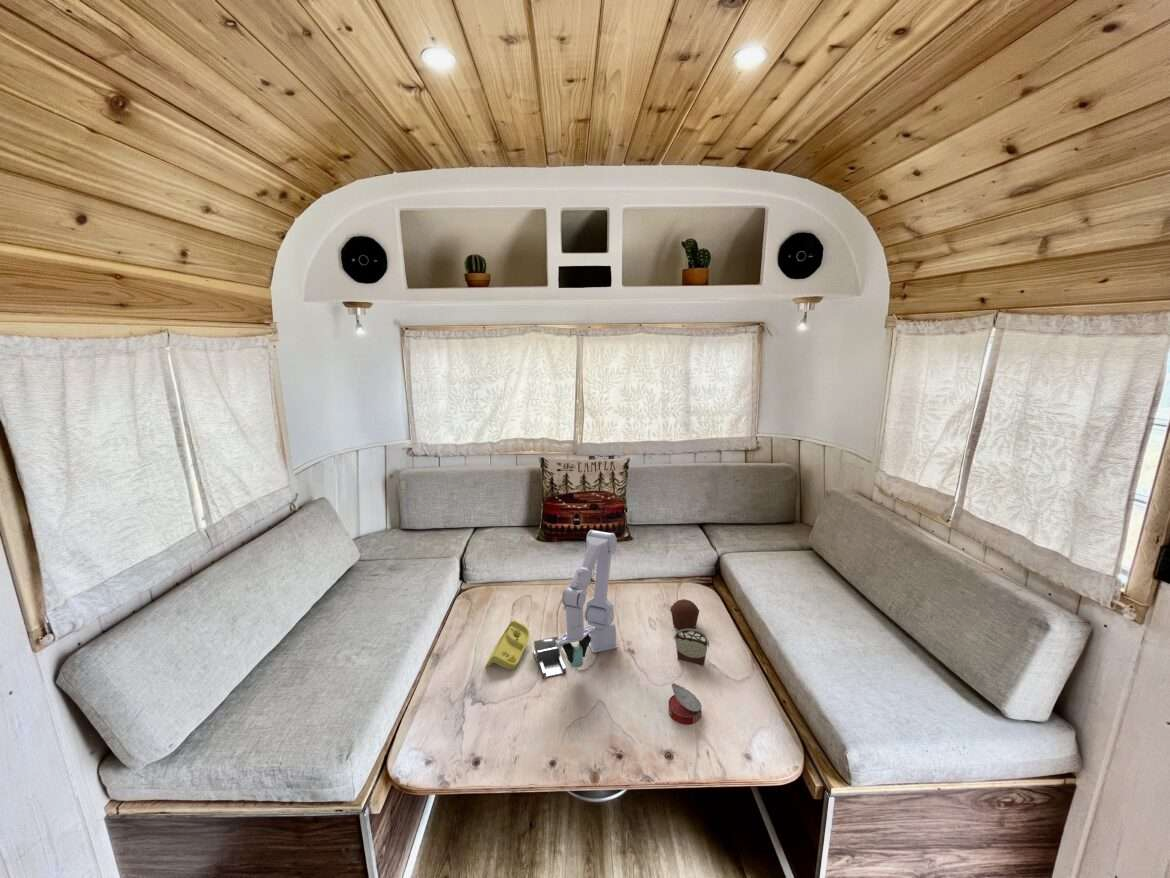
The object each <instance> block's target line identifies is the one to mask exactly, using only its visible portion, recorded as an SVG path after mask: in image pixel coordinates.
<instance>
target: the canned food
mask: <svg viewBox="0 0 1170 878" xmlns="http://www.w3.org/2000/svg"><path fill="white" fill-rule="evenodd" d="M671 688H672V692H673V693H674V694H673V695H672V696H670V698H669V700H668V715H669V716H670V718H671V719H672V720H673V721H674V722H676V723H678V724H680V725H685V726H690V725H694V724H695V725H696V723H698V722H699V721H700V719H701V718H702V703H701V701H700V700H699V699H698V698H697V696H696V695H695V694H694V693H692V692H691V691H690V690H689V689H686V687H684V686H681V685H679V684H677V683H676V682H675V683H674V682H672V684H671Z"/></svg>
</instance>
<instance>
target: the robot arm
mask: <svg viewBox="0 0 1170 878" xmlns="http://www.w3.org/2000/svg"><path fill="white" fill-rule="evenodd" d="M585 542H586V543H585V544H586V548H587V549H586V552H585V555H584V558H583V561H582V564H581V567H579V568H577V569H576V571H575V573H574V575H573V577H572V580H571V582H570V584H569V586H568V587H566V588H565V589H564V590H563V593H562V596H561V603H562V605H563V609H564V610H565V618H566V619H565V620H566V621H565V622H566V632H565V633H564V634H563V635H562V636H561V637H559V638H558V640H556V641H555V643H556V647H557V648H558V649H559V648H560V649H561V648H562V649H563V651H564V652H565V655H566V659H567V661H568V662H569V664H570V663H572V662H573V650H574V647H573V646H572V644H573V643H577V642H578V644H581V645H582V647H583V658H585V657H586V654H587V649H588V646H589V648H590V650H591V653H593V654H596V653H599V652H605V651H608V650H609V651H610V650H613V649H617V648H618V646H617V630H616V624H615V622H614V616H615V613H614V604H613V603H612V602H611V601H610V600H609V599H608V591H609V581H610V571H611V561H612V555H613V556H614V555H616V550H617V536H616V534H615V532H606V531H605V532H604V531H600V530H594V529H590V530H589V531H588V532H587V533H586V541H585ZM596 562H597V563H596ZM595 564H596V572H595V581H594V582H595V583H594V593H593V597H592V598H590V599H588V600H586V599H587V594H588V587H589V585H590V583H591V581H592V579H593V578H592V577H593V575H592V570H593V568H594V567H595ZM586 601H587V602H586ZM585 604H586V605H585ZM584 606H585V609H584ZM584 620H585V621H586V622H587V625H588V626H584V624H585V623H584V622H585V621H584Z"/></svg>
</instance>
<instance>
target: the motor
mask: <svg viewBox="0 0 1170 878" xmlns="http://www.w3.org/2000/svg"><path fill="white" fill-rule="evenodd" d="M558 639H559V638H558V636H552V637H548V638H543V639H539V640H534V641H533V646H534V647H533V655H534V658H536V659H535V661H537V662H538V667H539V670H540V672H541V676H542V675H543V676H542V679H545V678H544V677H547V678H550V677H549V676H552V677H554V676H553V675H556V676H558V675H557V674H560V675H563V674H562V673H565V674H567V667H566V665H565V663H564V660H563V658H562V654H561V648H559V649H558V648H557V647H556V643H555V641H556V640H558ZM537 662H536V663H537Z"/></svg>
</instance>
